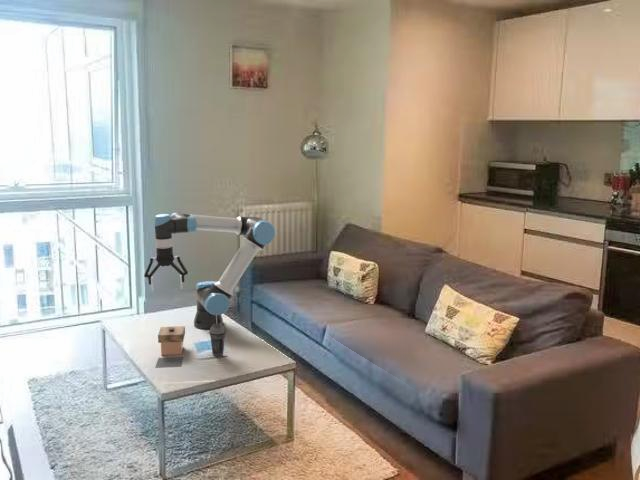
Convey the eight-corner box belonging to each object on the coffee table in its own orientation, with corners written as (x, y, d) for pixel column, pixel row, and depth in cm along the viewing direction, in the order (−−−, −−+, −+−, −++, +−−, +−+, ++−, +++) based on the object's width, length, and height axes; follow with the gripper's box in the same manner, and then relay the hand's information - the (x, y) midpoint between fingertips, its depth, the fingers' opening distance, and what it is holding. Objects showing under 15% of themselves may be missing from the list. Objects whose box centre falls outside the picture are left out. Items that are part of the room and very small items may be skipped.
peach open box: (183, 348, 278) (182, 334, 277) (181, 355, 269) (181, 341, 268) (163, 349, 277) (163, 334, 275) (161, 356, 268) (160, 341, 267)
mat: (183, 358, 267) (183, 356, 266) (181, 367, 256) (181, 366, 256) (158, 359, 265) (158, 357, 265) (155, 369, 254) (155, 367, 254)
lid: (185, 333, 278) (184, 324, 277) (183, 341, 267) (182, 332, 266) (161, 334, 276) (160, 325, 275) (158, 342, 266) (157, 333, 265)
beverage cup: (212, 360, 264) (211, 317, 261) (207, 354, 271) (206, 313, 267) (228, 357, 268) (227, 315, 264) (223, 351, 274) (222, 310, 270)
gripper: (191, 243, 286) (193, 285, 291) (137, 246, 281) (141, 289, 286) (191, 247, 279) (193, 289, 284) (136, 250, 274) (139, 293, 278)
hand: (167, 289), depth 285 cm, fingers open, 13 cm apart
